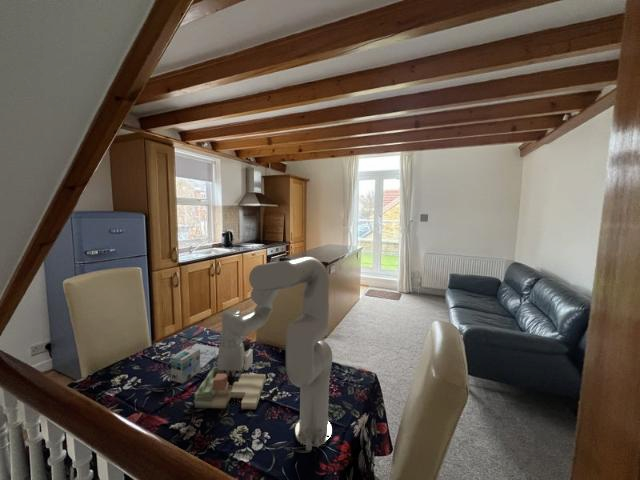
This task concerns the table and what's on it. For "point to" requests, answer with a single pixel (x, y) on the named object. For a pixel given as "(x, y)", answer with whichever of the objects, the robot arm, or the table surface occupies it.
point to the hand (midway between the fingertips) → (231, 383)
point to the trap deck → (230, 391)
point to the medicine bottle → (247, 355)
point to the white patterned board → (206, 354)
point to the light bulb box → (185, 364)
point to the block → (220, 382)
